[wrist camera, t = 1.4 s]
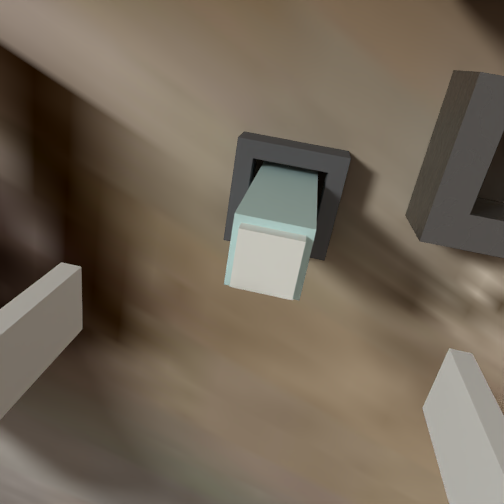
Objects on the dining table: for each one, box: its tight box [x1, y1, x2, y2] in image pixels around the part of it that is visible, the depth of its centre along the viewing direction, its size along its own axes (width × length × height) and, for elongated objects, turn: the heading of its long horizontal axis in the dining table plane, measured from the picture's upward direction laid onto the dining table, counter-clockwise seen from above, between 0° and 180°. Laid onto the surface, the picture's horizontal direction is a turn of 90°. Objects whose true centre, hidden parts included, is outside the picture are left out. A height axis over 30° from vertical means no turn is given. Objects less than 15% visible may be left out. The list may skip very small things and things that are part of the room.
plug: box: [224, 161, 318, 300], centre depth 26 cm, size 4×4×13 cm
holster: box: [224, 132, 351, 260], centre depth 31 cm, size 8×8×2 cm
